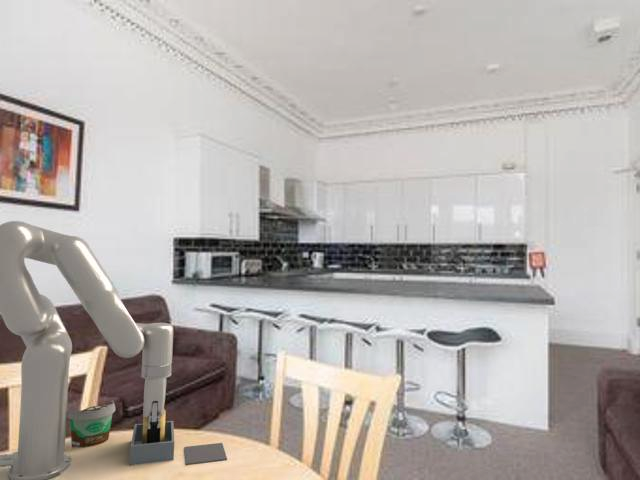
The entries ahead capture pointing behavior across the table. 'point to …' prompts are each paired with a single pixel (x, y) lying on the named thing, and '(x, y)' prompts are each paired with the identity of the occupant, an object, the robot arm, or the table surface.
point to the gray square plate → (205, 453)
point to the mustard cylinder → (162, 425)
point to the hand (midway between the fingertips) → (153, 438)
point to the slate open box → (152, 446)
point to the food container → (91, 425)
